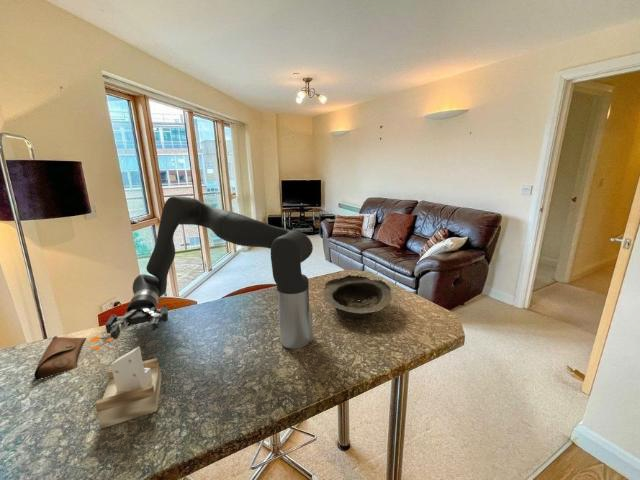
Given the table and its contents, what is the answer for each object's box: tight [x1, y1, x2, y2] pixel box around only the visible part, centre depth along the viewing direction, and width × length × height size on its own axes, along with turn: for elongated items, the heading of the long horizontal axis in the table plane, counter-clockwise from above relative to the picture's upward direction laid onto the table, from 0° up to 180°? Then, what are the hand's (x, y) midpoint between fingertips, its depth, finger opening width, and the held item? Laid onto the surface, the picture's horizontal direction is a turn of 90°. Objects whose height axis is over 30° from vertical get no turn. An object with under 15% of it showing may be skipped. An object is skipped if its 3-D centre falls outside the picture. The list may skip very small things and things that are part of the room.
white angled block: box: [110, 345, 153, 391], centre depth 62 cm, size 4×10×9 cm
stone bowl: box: [322, 274, 392, 320], centre depth 102 cm, size 25×25×9 cm
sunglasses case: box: [34, 335, 87, 380], centre depth 80 cm, size 18×7×7 cm
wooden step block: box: [94, 357, 162, 429], centre depth 63 cm, size 10×11×6 cm
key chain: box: [83, 331, 115, 357], centre depth 87 cm, size 13×7×1 cm, turn 29°
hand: (134, 331), depth 72 cm, fingers open, 8 cm apart
